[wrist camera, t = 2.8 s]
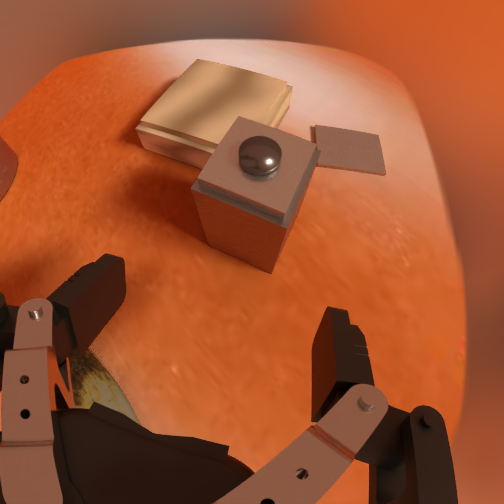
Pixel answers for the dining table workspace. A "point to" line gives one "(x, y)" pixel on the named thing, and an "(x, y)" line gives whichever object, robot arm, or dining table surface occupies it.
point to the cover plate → (349, 150)
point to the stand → (210, 110)
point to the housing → (253, 191)
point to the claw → (96, 385)
